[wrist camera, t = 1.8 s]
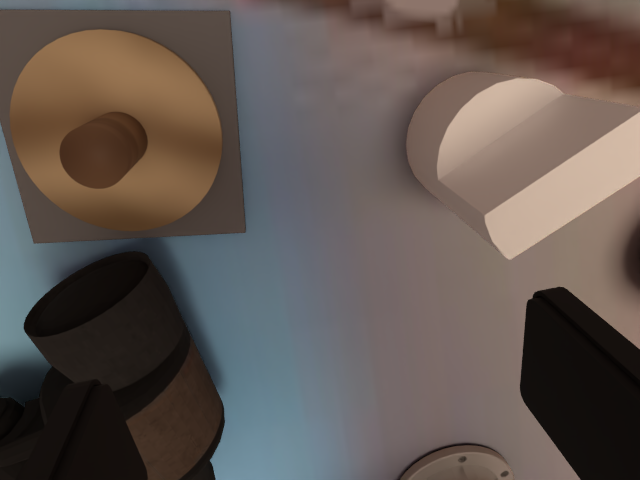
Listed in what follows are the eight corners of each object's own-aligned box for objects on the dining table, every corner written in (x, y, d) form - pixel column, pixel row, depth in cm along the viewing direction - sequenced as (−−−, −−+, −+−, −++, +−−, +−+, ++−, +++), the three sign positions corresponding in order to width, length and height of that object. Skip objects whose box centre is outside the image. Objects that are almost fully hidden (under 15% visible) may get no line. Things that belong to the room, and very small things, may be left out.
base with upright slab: (495, 42, 30) (632, 44, 19) (546, 151, 34) (685, 204, 23) (382, 124, 31) (450, 168, 21) (442, 221, 35) (528, 303, 24)
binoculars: (160, 227, 32) (131, 314, 23) (269, 413, 42) (277, 522, 33) (-217, 369, 32) (-384, 506, 24) (-21, 519, 42) (-88, 654, 34)
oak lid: (229, 219, 32) (225, 258, 26) (46, 229, 30) (-1, 272, 25) (213, 29, 27) (203, 26, 21) (-6, 29, 26) (-79, 26, 20)
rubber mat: (245, 228, 33) (245, 232, 32) (39, 238, 31) (33, 243, 31) (230, 11, 27) (229, 11, 27) (-23, 10, 26) (-31, 9, 25)
